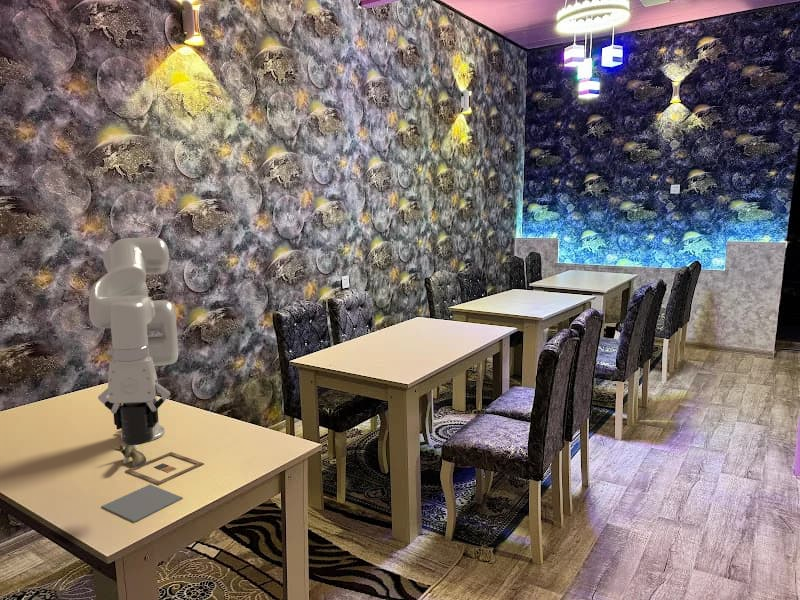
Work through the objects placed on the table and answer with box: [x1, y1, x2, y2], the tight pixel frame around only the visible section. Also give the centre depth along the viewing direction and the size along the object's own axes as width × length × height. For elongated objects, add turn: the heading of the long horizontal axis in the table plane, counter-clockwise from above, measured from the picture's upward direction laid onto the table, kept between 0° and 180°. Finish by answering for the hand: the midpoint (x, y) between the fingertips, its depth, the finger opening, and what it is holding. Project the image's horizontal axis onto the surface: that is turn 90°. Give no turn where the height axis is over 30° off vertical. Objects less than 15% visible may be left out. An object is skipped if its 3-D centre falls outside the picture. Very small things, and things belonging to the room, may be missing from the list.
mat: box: [101, 484, 184, 524], centre depth 141 cm, size 13×13×1 cm
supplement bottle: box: [119, 403, 153, 446], centre depth 137 cm, size 7×7×12 cm
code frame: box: [124, 451, 205, 486], centre depth 159 cm, size 14×14×1 cm
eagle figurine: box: [111, 444, 147, 467], centre depth 162 cm, size 8×7×9 cm
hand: (136, 425), depth 138 cm, fingers closed on supplement bottle, 6 cm apart
